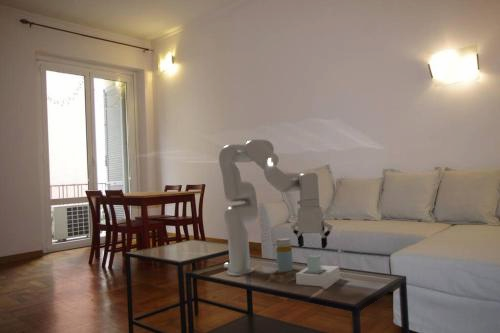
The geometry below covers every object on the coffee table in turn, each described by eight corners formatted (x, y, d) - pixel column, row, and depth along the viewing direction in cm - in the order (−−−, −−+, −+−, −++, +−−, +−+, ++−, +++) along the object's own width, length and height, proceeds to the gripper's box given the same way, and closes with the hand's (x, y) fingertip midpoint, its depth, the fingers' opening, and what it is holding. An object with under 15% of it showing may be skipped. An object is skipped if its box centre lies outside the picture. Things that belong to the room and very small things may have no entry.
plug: (308, 282, 153) (306, 257, 153) (312, 280, 156) (310, 255, 157) (318, 283, 151) (316, 257, 151) (322, 281, 154) (320, 255, 155)
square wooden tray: (265, 283, 160) (265, 275, 160) (274, 278, 167) (274, 270, 167) (287, 285, 155) (286, 276, 155) (296, 280, 161) (295, 272, 161)
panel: (296, 286, 152) (295, 273, 153) (312, 276, 166) (311, 264, 166) (325, 289, 146) (324, 275, 146) (340, 278, 160) (339, 265, 160)
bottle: (292, 273, 173) (290, 240, 174) (276, 274, 175) (274, 240, 175) (293, 270, 180) (291, 237, 181) (278, 270, 181) (276, 238, 182)
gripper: (286, 205, 156) (288, 247, 156) (327, 204, 147) (330, 249, 146) (294, 203, 162) (296, 244, 162) (334, 202, 153) (336, 246, 153)
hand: (312, 247), depth 154 cm, fingers open, 9 cm apart
